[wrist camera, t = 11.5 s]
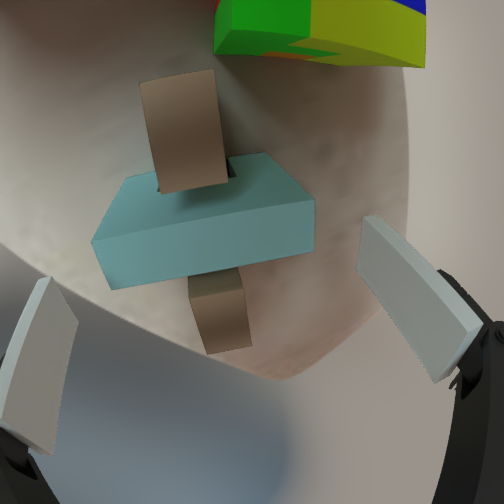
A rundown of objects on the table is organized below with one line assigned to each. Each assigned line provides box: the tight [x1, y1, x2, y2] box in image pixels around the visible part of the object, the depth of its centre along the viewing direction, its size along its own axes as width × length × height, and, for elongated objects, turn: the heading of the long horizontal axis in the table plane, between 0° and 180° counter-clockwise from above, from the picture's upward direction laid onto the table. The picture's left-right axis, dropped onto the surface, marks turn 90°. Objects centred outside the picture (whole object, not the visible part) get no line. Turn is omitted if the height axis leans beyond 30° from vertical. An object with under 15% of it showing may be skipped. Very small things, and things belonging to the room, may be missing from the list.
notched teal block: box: [91, 152, 315, 290], centre depth 18 cm, size 11×3×10 cm, turn 95°
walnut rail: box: [139, 69, 252, 355], centre depth 18 cm, size 16×3×10 cm, turn 5°
